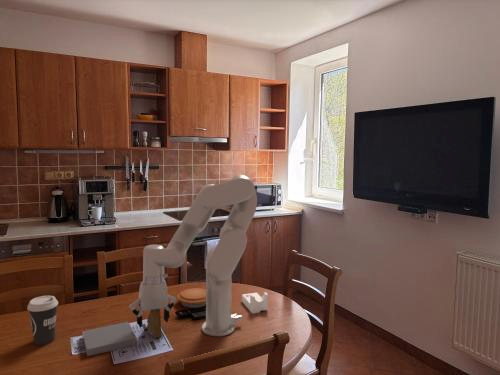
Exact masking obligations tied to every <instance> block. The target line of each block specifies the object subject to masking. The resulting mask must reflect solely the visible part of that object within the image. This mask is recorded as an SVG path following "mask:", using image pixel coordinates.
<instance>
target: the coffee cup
mask: <svg viewBox="0 0 500 375" xmlns="http://www.w3.org/2000/svg"><path fill="white" fill-rule="evenodd" d="M58 305H59V301H58V299H56V297H55V296H54V295H41V296H36V297H34V298H32V299H31V300H30V301H29V303H28V304H27V311H28V312H29V318H30V324H31V331H32V336H33V337H32V338H33V344H34V345H35V346H46V345H49V344H51V343H53V342H55V339H56V326H57V325H56V324H57V309H58V308H57V307H58Z"/></svg>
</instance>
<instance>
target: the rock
mask: <svg viewBox="0 0 500 375" xmlns="http://www.w3.org/2000/svg"><path fill="white" fill-rule="evenodd" d="M161 318H162V317H161V308H160V309H155V310H150V313H149V314H148V316H147V319H146V322H147V325H146V326H147V332H149V333H150V334H151V335H153V338H160V337H161V336H162V320H161Z"/></svg>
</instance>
